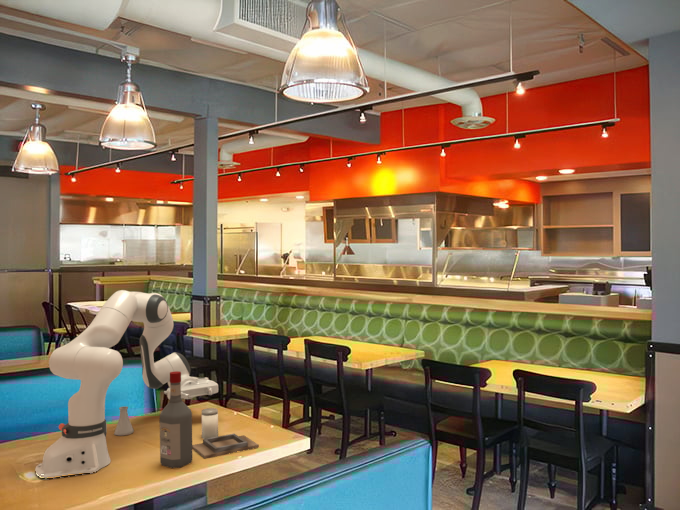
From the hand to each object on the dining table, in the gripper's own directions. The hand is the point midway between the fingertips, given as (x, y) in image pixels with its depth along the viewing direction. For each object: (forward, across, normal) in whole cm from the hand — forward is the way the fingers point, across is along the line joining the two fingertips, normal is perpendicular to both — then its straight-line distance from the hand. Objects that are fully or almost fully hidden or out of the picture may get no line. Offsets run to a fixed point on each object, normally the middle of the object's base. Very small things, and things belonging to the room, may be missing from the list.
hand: (199, 394), depth 237 cm
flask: (-11, -26, +13) cm, 31 cm away
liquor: (+32, -20, +13) cm, 40 cm away
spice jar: (+12, 0, +13) cm, 18 cm away
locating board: (+27, 0, +13) cm, 30 cm away
